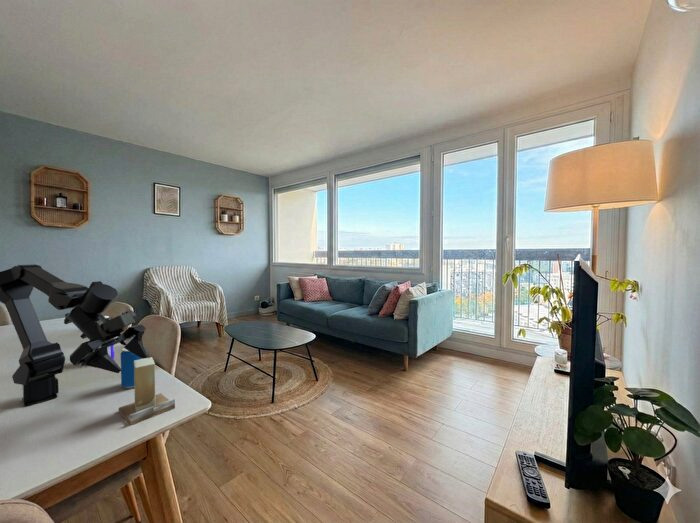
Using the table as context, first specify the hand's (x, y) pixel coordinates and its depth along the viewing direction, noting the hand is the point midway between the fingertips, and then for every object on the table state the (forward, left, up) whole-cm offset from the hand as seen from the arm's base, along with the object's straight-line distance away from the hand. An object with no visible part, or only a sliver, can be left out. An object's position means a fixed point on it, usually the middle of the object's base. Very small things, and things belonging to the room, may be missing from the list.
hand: (133, 364), depth 78 cm
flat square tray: (+2, -3, -12) cm, 13 cm away
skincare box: (+2, -3, -11) cm, 12 cm away
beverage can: (+5, +17, -12) cm, 22 cm away
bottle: (+4, +50, -12) cm, 52 cm away
